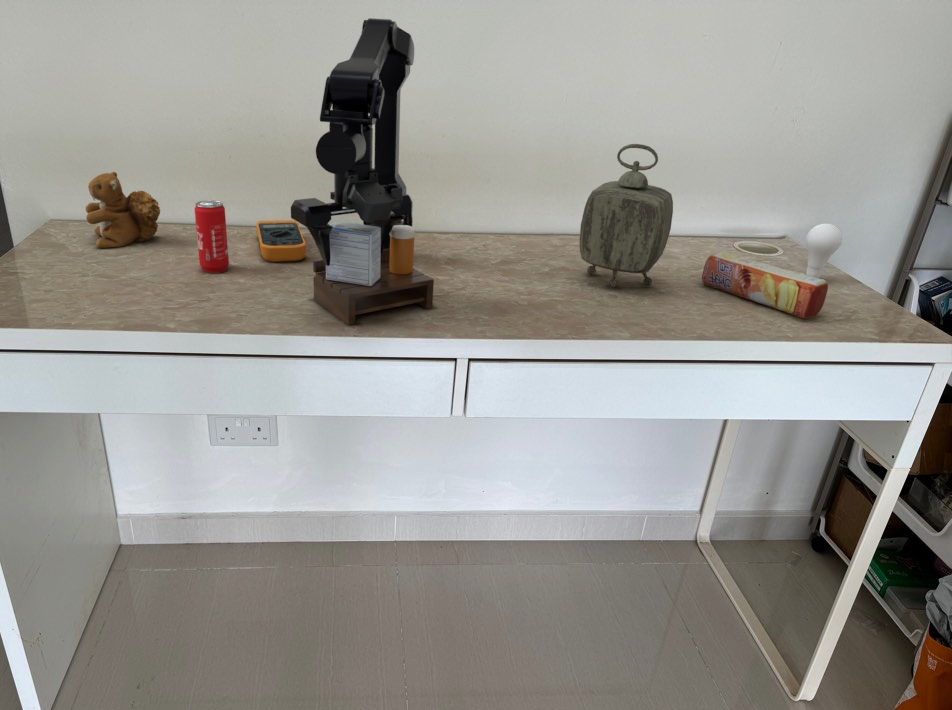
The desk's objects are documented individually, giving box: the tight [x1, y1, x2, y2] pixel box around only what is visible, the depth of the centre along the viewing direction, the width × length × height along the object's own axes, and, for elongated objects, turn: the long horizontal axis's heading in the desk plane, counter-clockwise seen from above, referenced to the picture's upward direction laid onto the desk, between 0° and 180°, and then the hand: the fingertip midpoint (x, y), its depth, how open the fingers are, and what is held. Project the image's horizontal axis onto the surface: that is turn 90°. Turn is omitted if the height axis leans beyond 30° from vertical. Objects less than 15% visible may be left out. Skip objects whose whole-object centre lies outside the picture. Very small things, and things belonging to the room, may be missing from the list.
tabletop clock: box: [579, 143, 674, 289], centre depth 137 cm, size 14×9×25 cm, turn 62°
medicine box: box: [325, 220, 381, 286], centre depth 122 cm, size 8×4×9 cm, turn 71°
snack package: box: [701, 251, 829, 320], centre depth 137 cm, size 21×7×7 cm, turn 36°
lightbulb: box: [805, 222, 843, 279], centre depth 148 cm, size 6×6×11 cm
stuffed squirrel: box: [85, 171, 161, 249], centre depth 150 cm, size 10×14×13 cm
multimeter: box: [255, 219, 307, 263], centre depth 152 cm, size 9×18×3 cm, turn 13°
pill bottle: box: [389, 225, 416, 274], centre depth 128 cm, size 4×4×7 cm
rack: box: [312, 248, 435, 326], centre depth 127 cm, size 16×12×7 cm
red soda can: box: [194, 199, 230, 274], centre depth 138 cm, size 5×5×12 cm
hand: (352, 261), depth 123 cm, fingers open, 9 cm apart
